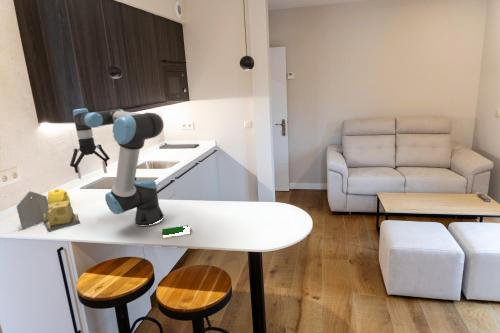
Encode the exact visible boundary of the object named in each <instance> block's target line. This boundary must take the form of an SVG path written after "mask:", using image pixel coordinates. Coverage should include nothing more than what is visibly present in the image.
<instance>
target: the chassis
mask: <svg viewBox="0 0 500 333" xmlns="http://www.w3.org/2000/svg"><path fill="white" fill-rule="evenodd" d="M71 209H72V215H73V216H72V219H71V221H70V223H64V224H57V225H52V226H51V224H50V221H49V219H48V220H47V217H46V214H42V215H43V219H44V222H43V224H44V226H45V228H46V230H47V232H48V233H50V232H53V231H57V230H58V231H59V230H61V229H65V228H69V227H71V226H75V225H76V226H77V225H79V224H81V221H80V219H79V215H78V213H77V214H76V213H74V210H73V206H71Z"/></svg>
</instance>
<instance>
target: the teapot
mask: <svg viewBox="0 0 500 333" xmlns="http://www.w3.org/2000/svg"><path fill="white" fill-rule="evenodd" d="M47 201H48V206H49V205H50V204H51V203H57V202H63V201H70V202H71V198H70V196H69V194H68V191H66V190H64V189H59V188H55V189H54V190H49V191H48V194H47Z"/></svg>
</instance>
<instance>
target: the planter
mask: <svg viewBox="0 0 500 333" xmlns="http://www.w3.org/2000/svg"><path fill="white" fill-rule="evenodd" d="M48 207H49V204H48V196H46V195H44V194H40V193H37V192H34V191H30V190H29V191H28V192H27V193H26V195H24V197H23V198H22V199H21V200H20V202H19V203H18V204H17V205H16V211H17V214H18V218H19V223H20V227H21V230H22V231H23V230H26V229H28V228H32V227H33V226H35V225H36V226H37V225H38V224H40V223H44V219H43V215H42V214H46V217H47V220H48V219H49V217H48V212H49V209H48Z"/></svg>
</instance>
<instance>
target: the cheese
mask: <svg viewBox="0 0 500 333" xmlns="http://www.w3.org/2000/svg"><path fill="white" fill-rule="evenodd" d="M48 206H49V207H48V209H49V212H48V217H49V221H50V224H51V226H52V225H57V224H64V223H70V221H71V219H72V216H73V215H72V209H73V208H72V209H71V207H72V204H71V200H70V201H63V202H57V203H51V204H50V205H49V204H48Z"/></svg>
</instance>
